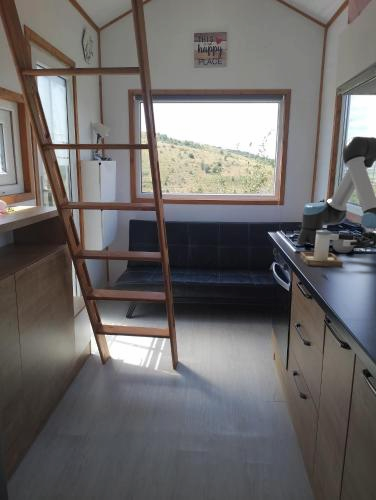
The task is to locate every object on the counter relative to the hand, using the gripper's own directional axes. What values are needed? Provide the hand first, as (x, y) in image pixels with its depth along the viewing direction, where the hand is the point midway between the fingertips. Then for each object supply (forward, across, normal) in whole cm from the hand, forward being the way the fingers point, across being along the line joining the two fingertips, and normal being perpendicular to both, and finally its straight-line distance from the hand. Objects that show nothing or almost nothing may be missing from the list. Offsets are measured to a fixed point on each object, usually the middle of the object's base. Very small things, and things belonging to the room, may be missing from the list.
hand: (334, 240), depth 188 cm
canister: (+7, 0, -10) cm, 12 cm away
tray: (+7, 0, -10) cm, 12 cm away
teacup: (-18, +18, -11) cm, 28 cm away
